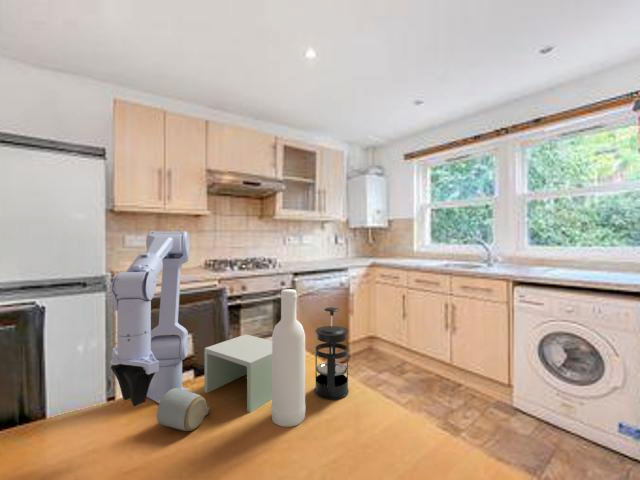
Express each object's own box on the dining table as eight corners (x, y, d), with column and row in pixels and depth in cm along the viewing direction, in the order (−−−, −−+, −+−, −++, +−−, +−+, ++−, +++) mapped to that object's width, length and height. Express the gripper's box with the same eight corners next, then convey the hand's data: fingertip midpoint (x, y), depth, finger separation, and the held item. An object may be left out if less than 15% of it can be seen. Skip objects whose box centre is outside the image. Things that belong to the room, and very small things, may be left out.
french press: (316, 381, 91) (316, 303, 91) (348, 382, 91) (348, 304, 91) (312, 402, 80) (312, 313, 80) (349, 404, 79) (349, 314, 79)
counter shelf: (204, 391, 85) (204, 348, 85) (245, 372, 98) (245, 334, 98) (250, 412, 75) (250, 362, 75) (290, 387, 88) (290, 345, 88)
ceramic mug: (186, 440, 65) (186, 403, 65) (155, 432, 67) (156, 396, 68) (218, 413, 75) (218, 381, 75) (190, 407, 77) (190, 377, 78)
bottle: (268, 427, 69) (268, 293, 69) (274, 408, 77) (274, 287, 77) (304, 427, 69) (304, 293, 69) (306, 408, 77) (306, 287, 77)
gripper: (95, 330, 62) (95, 398, 62) (130, 344, 54) (130, 422, 54) (132, 323, 68) (132, 384, 68) (169, 334, 60) (169, 404, 60)
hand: (134, 400), depth 61 cm, fingers open, 3 cm apart
